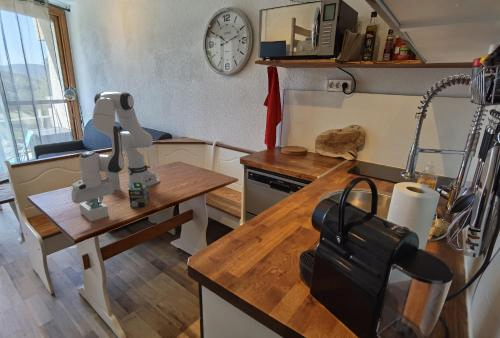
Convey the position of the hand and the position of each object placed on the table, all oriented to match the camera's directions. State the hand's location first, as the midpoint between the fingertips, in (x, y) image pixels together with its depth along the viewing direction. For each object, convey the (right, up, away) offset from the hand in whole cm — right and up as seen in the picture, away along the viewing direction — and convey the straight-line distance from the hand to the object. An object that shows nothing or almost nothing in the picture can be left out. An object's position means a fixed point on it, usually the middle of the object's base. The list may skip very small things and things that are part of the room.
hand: (95, 205), depth 145 cm
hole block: (-3, -6, +4) cm, 7 cm away
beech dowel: (-5, -5, +6) cm, 9 cm away
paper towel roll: (-10, +6, +39) cm, 41 cm away
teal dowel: (0, -5, +2) cm, 5 cm away
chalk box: (+17, -2, +18) cm, 25 cm away
